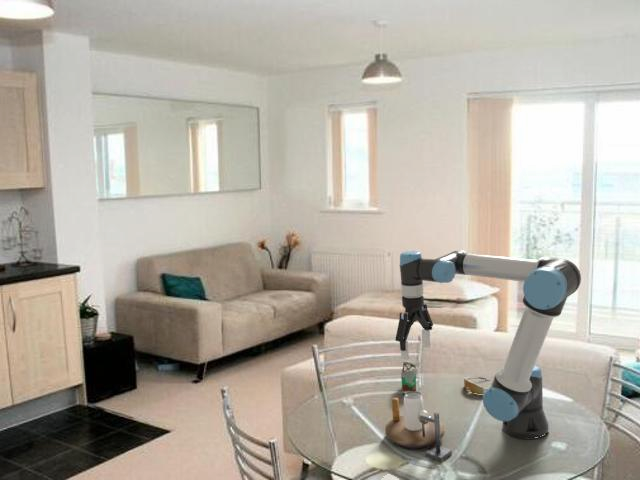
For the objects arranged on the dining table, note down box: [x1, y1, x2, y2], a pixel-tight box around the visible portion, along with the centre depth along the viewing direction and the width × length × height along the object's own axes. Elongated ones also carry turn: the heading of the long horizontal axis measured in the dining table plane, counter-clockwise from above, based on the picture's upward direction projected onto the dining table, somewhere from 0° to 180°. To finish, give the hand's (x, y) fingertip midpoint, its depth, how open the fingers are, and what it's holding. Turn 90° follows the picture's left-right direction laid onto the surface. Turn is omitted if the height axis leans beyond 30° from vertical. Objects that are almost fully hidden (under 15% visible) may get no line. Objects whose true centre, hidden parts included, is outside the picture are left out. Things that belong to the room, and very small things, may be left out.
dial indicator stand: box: [418, 409, 453, 463], centre depth 211 cm, size 10×6×14 cm, turn 46°
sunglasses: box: [463, 376, 489, 394], centre depth 259 cm, size 14×15×5 cm
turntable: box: [384, 397, 445, 446], centre depth 222 cm, size 20×20×10 cm
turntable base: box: [391, 441, 436, 451], centre depth 223 cm, size 16×16×2 cm
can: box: [403, 390, 424, 431], centre depth 221 cm, size 6×6×12 cm
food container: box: [400, 361, 418, 396], centre depth 262 cm, size 12×6×10 cm, turn 168°
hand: (416, 353), depth 231 cm, fingers open, 13 cm apart
